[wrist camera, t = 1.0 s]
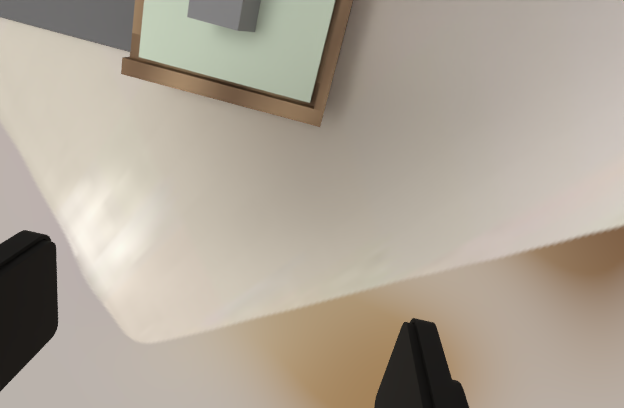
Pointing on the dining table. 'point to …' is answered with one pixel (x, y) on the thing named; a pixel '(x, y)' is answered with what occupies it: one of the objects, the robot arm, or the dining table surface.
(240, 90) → the walnut box
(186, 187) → the dining table surface
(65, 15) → the rubber mat
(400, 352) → the robot arm
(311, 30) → the cover plate
